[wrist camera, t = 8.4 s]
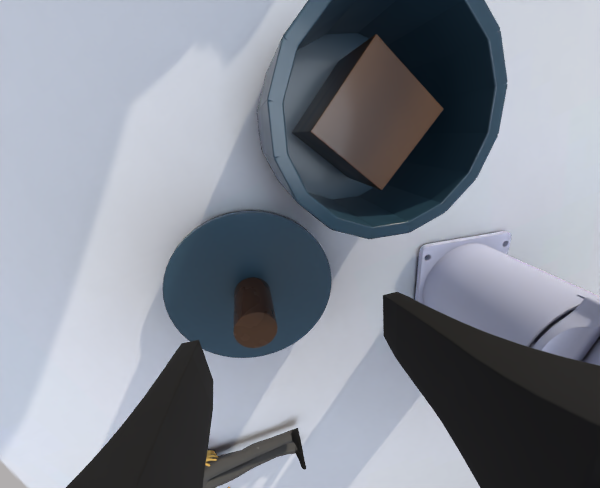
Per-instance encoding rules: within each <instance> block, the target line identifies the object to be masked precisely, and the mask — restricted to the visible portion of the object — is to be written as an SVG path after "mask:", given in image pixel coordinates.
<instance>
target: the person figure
mask: <svg viewBox="0 0 600 488" xmlns="http://www.w3.org/2000/svg"><path fill="white" fill-rule="evenodd" d="M214 452H215V451H212V450H208V451H207V457H206V464H205V472H204V479H203V488H215V487H217V486H220V485H222V484H224V483H227V482H229V481H231V480H233V479H235V478H237V477H239V476H240V475H242V474H244V473H245V472H247V471H249V470H250V469H252V468H254V467H256V466H258V465H261V464H263V463H265V462H267V461H269V460H271V459H273V458H276V457H278V456H282V455H286V454H294V453H296V455H297V457H298V459H299V461H300V464H301V467H302V468H303V469H306V466H305V461H304V456H303V450H302V445H301V441H300V436H299V431H298V428H296V429H294V430H290V431H288V432H285V433H283V434H280V435H277V436H275V437H272V438H269V439H266V440H263V441H260V442H257V443H254V444H252V445H250V446H248V447H246V448H245V449H243V450H240V451H236V452H232V453H228V454H225V455H221V456H216V455H217V454H216V453H214ZM211 454H214V455H211ZM211 457H214V458H211ZM228 488H230V487H229V486H228Z"/></svg>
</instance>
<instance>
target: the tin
mask: <svg viewBox="0 0 600 488" xmlns="http://www.w3.org/2000/svg"><path fill="white" fill-rule="evenodd" d="M375 34H377V35H378V36H379V37H380V38H381V39H382V40H383V42H384V43H385V44H386V45H387V46H388V47H389V48H390V49H391V50H392V52H393V53H394V54H395V55H396V56H397V57H398V58H399V59H400V61H401V62H402V63H403V64H404V65H405V66H406V67H407V68H408V69H409V71H410V72H411V73H412V74H413V75H414V76H415V77H416V78H417V80H418V81H419V82H420V83H421V84H422V85H423V86H424V87H425V88H426V90H427V91H428V92H429V93H430V94H431V95H432V96H433V97H434V99H435V100H436V101H437V102H438V103H439V104H440V105H441V106H442V107H443V111H442V112H441V113H440V115H439V116H438V117H437V119H436V120H435V121H434V123H433V124H432V125H431V127H430V128H429V129H428V131H427V132H426V133H425V134H424V136H423V137H422V138H421V140H420V141H419V142H418V144H417V145H416V146H415V148H414V149H413V150H412V152H411V153H410V154H409V155H408V157H407V158H406V159H405V161H404V162H403V163H402V165H401V166H400V167H399V169H398V170H397V171H396V173H395V174H394V175H393V176H392V178H391V179H390V180H389V182H388V183H387V184H386V186H385V187H384V188H383V190H379V189H377V188H374V187H371V186H369V185H366V184H364V183H361V182H359V181H356V180H353V179H351V178H348V177H347V176H346V175H344V174H343V173H342V172H341V171H339V170H338V169H337V168H336V167H334V166H333V165H332V164H331V163H329V162H328V161H327V160H326V159H324V158H323V157H322V156H321V155H319V154H318V153H317V152H316V151H314V150H313V149H312V148H310V147H309V146H308V145H307V144H305V143H304V142H303V141H302V140H300V139H299V138H298V137H297V136H295V135H294V134H293V133H292V131H293V130H294V128H295V127H296V125H297V124H298V122H299V121H300V119H301V118H302V116H303V115H304V113H305V112H306V110H307V109H308V107H309V106H310V104H311V102H312V101H313V99H314V98H315V96H316V95H317V93H318V92H319V90H320V89H321V87H322V86H323V84H324V83H325V81H326V80H327V78H328V77H329V75H330V74H331V72H332V71H333V69H334V68H335V66H336V64H337V63H338V61H340V60H341V59H342V58H344V57H345V56H346V55H348V54H349V53H351V52H352V51H353V50H355V49H356V48H357V47H359V46H360V45H361V44H363V43H364V42H366V41H367V40H368V39H370V38H371V37H372V36H374V35H375ZM506 83H507V75H506V67H505V60H504V52H503V45H502V37H501V31H500V27H499V26H498V24H497V22H496V20H495V18H494V17H493V15H492V13H491V11H490V9H489V8H488V6H487V4H486V2H485V1H484V0H308V1H307V3H306V4H305V6H304V7H303V8H302V10H301V11H300V13H299V14H298V16H297V17H296V18H295V20H294V21H293V23H292V24H291V25H290V27H289V28H288V30H287V31H286V33H285V34H284V35H283V37H282V39H281V42H280V44H279V46H278V48H277V50H276V53H275V55H274V57H273V59H272V61H271V64H270V66H269V68H268V70H267V72H266V76H265V80H264V84H263V88H262V92H261V96H260V101H259V105H258V109H257V118H258V127H259V135H260V141H261V149H262V152H263V154H264V156H265V157H266V159H267V161H268V163H269V165H270V167H271V169H272V170H273V172H274V174H275V176H276V178H277V179H278V181H279V182H280V183H281V184H282V185H283V187H284V188H285V189H286V190H287V191H288V192H289V193H290V195H291V196H292V197H293V198H294V199H295V200H296V202H297V203H298V204H300V205H301V206H302V207H303V208H305V209H306V210H307V211H308V212H310V213H311V214H312V215H313V216H315V217H316V218H317V219H318V220H320V221H321V222H322V223H323V224H325V225H326V226H327V227H328V228H330V229H332V230H335V231H339V232H343V233H347V234H351V235H355V236H359V237H363V238H367V239H373V238H380V237H386V236H392V235H398V234H404V233H409V232H411V231H413V230H415V229H417V228H418V227H420V226H422V225H424V224H425V223H427V222H429V221H431V220H433V219H434V218H436V217H438V216H440V215H441V214H443V213H445V211H447V210H448V209H449V208H450V207H451V206H452V205H453V204H454V202H455V201H456V200H457V199H458V198H459V197H460V196H461V195H462V194H463V193H464V192H465V191H466V189H467V188H468V187H469V186H470V185H471V184H472V183H473V182H474V181H475V180H476V178H477V177H478V175H479V173H480V171H481V168H482V166H483V164H484V162H485V160H486V158H487V156H488V154H489V152H490V150H491V148H492V146H493V144H494V142H495V140H496V138H497V136H498V135H497V134H498V133H499V128H500V122H501V117H502V111H503V106H504V100H505V95H506V89H507V84H506Z"/></svg>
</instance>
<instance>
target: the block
mask: <svg viewBox="0 0 600 488" xmlns="http://www.w3.org/2000/svg"><path fill="white" fill-rule="evenodd" d="M442 111H443V107H442V106H441V105H440V104H439V103H438V102H437V101H436V100H435V99H434V97H433V96H432V95H431V94H430V93H429V92H428V91H427V90H426V88H425V87H424V86H423V85H422V84H421V83H420V82H419V81H418V80H417V78H416V77H415V76H414V75H413V74H412V73H411V72H410V71H409V69H408V68H407V67H406V66H405V65H404V64H403V63H402V62H401V61H400V59H399V58H398V57H397V56H396V55H395V54H394V53H393V52H392V50H391V49H390V48H389V47H388V46H387V45H386V44H385V43H384V42H383V40H382V39H381V38H380V37H379V36H378V35H377V34H375V35H374V36H372V37H371V38H370V39H368V40H367V41H366V42H364V43H363V44H361V45H360V46H359V47H357V48H356V49H355V50H353V51H352V52H351V53H349V54H348V55H346V56H345V57H344V58H342V59H341V60H340V61H338V63H337V64H336V66H335V68H334V69H333V71H332V72H331V74H330V75H329V77H328V78H327V80H326V81H325V83H324V84H323V86H322V87H321V89H320V90H319V92H318V93H317V95H316V96H315V98H314V99H313V101H312V102H311V104H310V106H309V107H308V109H307V110H306V112H305V113H304V115H303V116H302V118H301V119H300V121H299V122H298V124H297V125H296V127H295V128H294V130H293V131H292V133H293V134H294V135H295V136H297V137H298V138H299V139H300V140H302V141H303V142H304V143H305V144H307V145H308V146H309V147H310V148H312V149H313V150H314V151H316V152H317V153H318V154H319V155H321V156H322V157H323V158H324V159H326V160H327V161H328V162H329V163H331V164H332V165H333V166H334V167H336V168H337V169H338V170H339V171H341V172H342V173H343V174H344V175H346V176H347V177H348V178H351V179H353V180H356V181H359V182H361V183H364V184H366V185H369V186H371V187H374V188H377V189H379V190H383V188H384V187H385V186H386V184H387V183H388V182H389V180H390V179H391V178H392V176H393V175H394V174H395V173H396V171H397V170H398V169H399V167H400V166H401V165H402V163H403V162H404V161H405V159H406V158H407V157H408V155H409V154H410V153H411V152H412V150H413V149H414V148H415V146H416V145H417V144H418V142H419V141H420V140H421V138H422V137H423V136H424V134H425V133H426V132H427V131H428V129H429V128H430V127H431V125H432V124H433V123H434V121H435V120H436V119H437V117H438V116H439V115H440V113H441V112H442Z"/></svg>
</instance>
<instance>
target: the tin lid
mask: <svg viewBox="0 0 600 488" xmlns="http://www.w3.org/2000/svg"><path fill="white" fill-rule="evenodd" d="M330 290H331V272H330V267H329V263H328V260H327V257H326V255H325V253H324V251H323V249H322V248H321V246H320V244H319V243H318V242H317V240H316V239H315V238H314V237H313V236H312V235H311V234H310V233H309V232H308V231H307V230H306V229H305V228H304V227H302V226H301V225H299V224H298V223H296V222H294V221H292V220H290V219H288V218H286V217H284V216H280V215H277V214H274V213H269V212H264V211H238V212H233V213H228V214H225V215H222V216H219V217H216V218H213V219H211V220H209V221H207V222H205V223H203V224H202V225H200V226H199V227H197V228H196V229H194V230H193V231H192V232H191V233H190V234H189V235H187V236H186V237H185V238H184V239H183V241H182V242H181V243H180V244H179V245H178V247H177V248H176V250H175V251H174V253H173V255H172V256H171V258H170V261H169V263H168V265H167V267H166V271H165V275H164V281H163V298H164V302H165V307H166V310H167V312H168V314H169V317H170V319H171V320H172V322H173V324H174V325H175V327H176V328H177V329H178V330H179V331H180V333H181V334H182V335H183V336H185V337H186V338H187V339H188V340H189V341H195V340H199V341H200V344H201V347H202V349H204V350H206V351H209V352H212V353H214V354H218V355H222V356H227V357H235V358H249V357H258V356H264V355H267V354H271V353H274V352H277V351H279V350H282V349H284V348H286V347H288V346H290V345H292V344H293V343H295V342H296V341H298V340H299V339H301V338H302V337H303V336H304V335H306V334H307V333H308V332H309V331H310V330H311V329H312V328H313V326H314V325H315V324H316V323H317V321H318V320H319V319H320V317H321V315H322V314H323V312H324V310H325V308H326V305H327V302H328V299H329V296H330Z"/></svg>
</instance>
